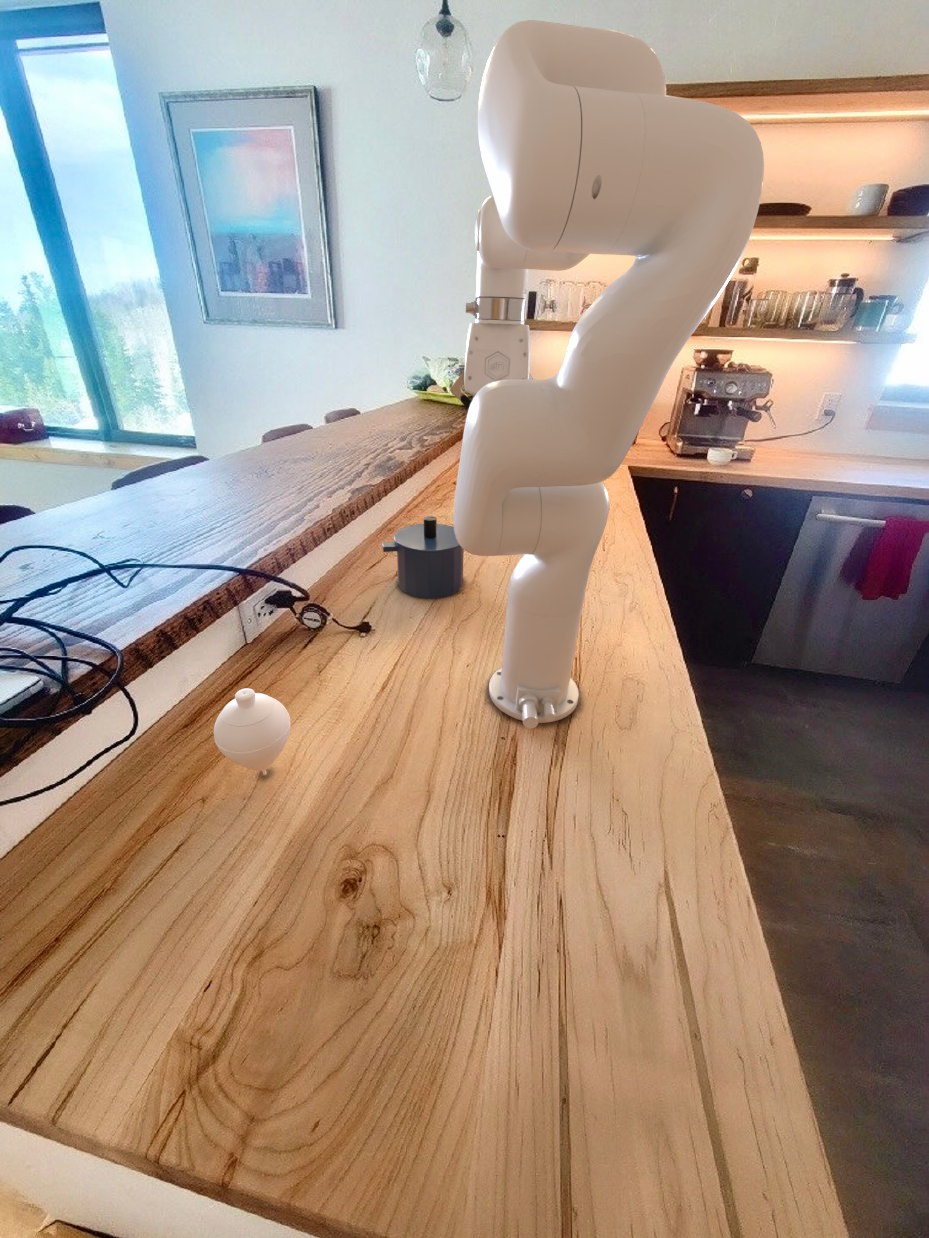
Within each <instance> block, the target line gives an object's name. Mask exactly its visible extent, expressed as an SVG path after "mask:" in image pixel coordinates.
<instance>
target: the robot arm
mask: <svg viewBox="0 0 929 1238" xmlns="http://www.w3.org/2000/svg"><path fill="white" fill-rule="evenodd" d="M481 80H482V81H481V85H480V91H479V97H478V107H477V135H478V136H477V137H478V145H479V151H480V155H481V161H482V164H483V168H484V171H485V174H486V179H487V180H488V184H489V187H490V190H491V193H492V195H490V196H488V197H486V199H485V200H484V202H483V203H482V205H481V207H480V209H478V211H477V212H476V215H475V223H474V245H475V250H476V253H477V256H476V280H475V281H476V282H475V283H476V285H475V300H473V301H470V302H466V303H465V314H470V315H472V316H473V317H474V322H469V326H468V331H467V335H466V336H467V338H466V344H465V357H464V370H463V371H462V373H461V374H460V375H459V376H458V377H457V379H456V380H455V381H454V383H453V384H452V386H451V387H450V392H451V394H452V395H454V397H455V398H457V399H458V400H459V401H460V402H461V403H462V405H464V407H465V408H466V409H467V414H466V419H465V423H464V429H463V434H462V440H461V449H460V455H459V456H460V457H459V462H458V463H459V464H458V469H457V477H456V484H455V491H454V499H453V506H452V507H453V508H452V524H453V525H452V527H454V532H455V536H456V539H457V541H458V543H459V545H460V546H461V547H462V548H463V549H464V552H466V553H468V554H470V555H473V556H477V557H479V556H480V557H500V556H520V555H522V556H521V558H519V560H518V562H517V564H516V565H515V567H514V568H513V570H512V573H511V575H510V578H509V582H508V588H507V599H506V600H507V601H506V612H505V624H504V635H503V646H502V647H503V648H502V657H501V658H502V660H501V667H500V668H498V669H497V670H496V671H495V672H493V674H492V676H491V677H490V679H489V683H488V694H489V698H490V700H491V702H492V703H493V704H494V705H495V707H496V708H497V709H499V711H500V712H502V713H503V714H505V715H507V716H509V717H511V718H514V719H515V720H519V721H522V724H523V725H522V726H523V727H525V728H526V729H529V730H530V729H535V728H536V727H538V725H539V724H546V723H552V722H557V721H560V720H562V719H564V718H567V717H568V716H570V715H571V714H572V713H573V712H574V711H575V709H576V708H577V705H578V702H579V697H580V693H579V688H578V686H577V683H576V682H575V680H574V679H573V678H572V677H571V676H572V671H573V665H574V659H575V653H576V649H577V643H578V642H577V641H578V636H579V631H580V626H581V618H582V615H583V614H582V613H583V608H584V603H585V598H586V597H585V596H586V592H587V587H588V581H589V576H590V573H591V569H592V565H593V563H594V558H595V555H596V553H597V549H598V547H599V544H600V542H601V539H602V537H603V534H604V532H605V529H606V527H607V523H608V518H609V512H610V497H609V493H608V490H607V488H606V486H605V484H604V481H606V480H608V479H609V478H610V477H612V476H613V475H614V474H615V473H616V472H617V470H618V469H619V468H620V467H621V465H622V463H623V462H624V460H625V458H626V457H627V455H628V453H629V452H630V449H631V448H632V445H633V444H634V441H635V439H636V437H637V435H638V434H639V431H640V429H641V428H642V425H643V424H644V421H645V419H647V416H648V414H649V412H650V410H651V407H652V406H653V404H654V402H655V400H656V399H657V398H656V397H657V396H658V394H659V391H660V389H661V388H662V385H663V383H664V382H665V379H666V377H667V375H668V373H669V371H670V370H671V368H672V365H673V364H674V362H675V361H676V359H677V357H678V356H679V354H680V353H681V351H682V350H683V348H684V347H685V345H686V344H687V343H688V341H689V340H690V338H691V337H692V336H693V334H694V333H695V331H696V330H697V329H698V327H699V326H700V325H701V323H702V321H704V319H705V318H706V316H707V315H708V313H710V310H712V308H713V306H714V305H715V303H716V302H717V301H718V299H719V297H720V296H721V294H722V293H723V291H724V289H725V288H726V286H727V285H728V283H729V281H730V280H731V278H732V276H733V274H734V273H735V271H736V269H737V267H738V265H739V264H740V261H741V259H742V257H743V255H744V253H745V250H746V247H747V245H748V243H749V241H750V238H751V236H752V232H753V229H754V227H755V224H756V220H757V215H758V213H759V208H760V204H761V200H762V199H761V198H762V193H763V186H764V175H765V174H764V173H765V160H764V159H765V158H764V151H763V146H762V142H761V140H760V137H759V135H758V133H757V131H756V129H755V128H754V127H753V125H751V123H750V122H749V121H748V120H747V119H745V118H744V117H742V116H741V114H739V113H738V112H734V111H733V110H730V109H728V108H727V107H724V106H721V105H718V104H715V103H711V102H707V101H704V100H699V99H693V98H687V97H681V96H672V95H667V83H666V77H665V71H664V68H663V66H662V63H661V61H660V59H659V57H658V56H657V54H656V52H655V51H654V50H653V48H652V47H650V46H649V45H648V44H647V43H646V42H644V41H643V40H642V39H640V38H638V37H637V36H635V35H632V34H629V33H626V32H622V31H617V30H612V29H605V28H596V27H589V26H581V25H574V24H567V23H560V22H553V21H544V20H536V19H527V20H520V21H517V22H515V23H514V24H512V25H511V26H509V27H508V28H506V29H505V31H504V32H503V33H502V34H501V35H500V37H498V39H497V41H496V43H495V44H494V46H493V48H492V50H491V52H490V55H489V57H488V59H487V62H486V66H485V69H484V72H483V75H482V79H481ZM590 254H591V255H609V256H610V255H614V256H631V257H634V262H633V263H632V265H631V267H629V268H628V269H627V270H626V271H625V272H624V273H623V274H622V275H620V276H619V277H617V278H616V279H615V280H614V281H613V282H611V284H610V285H608V286H606V288H605V289H604V290H603V291H602V292H601V293H600V294H599V295H598V296H597V298H595V299H594V301H593V302H592V303H591V304H590V306H589V307H588V308H587V309H586V310H585V311H584V312H583V314H582V315H581V316H580V318H579V319H578V320H577V323H575V326H574V327H573V329H572V331H571V334H570V336H569V340H568V343H567V347H566V350H565V354H564V358H563V361H562V364H561V365H560V369H559V370H558V372H557V373H556V374H555V375H554V376H552V377H549V378H545V379H534V378H533V377H532V374H531V373H530V369H531V367H530V366H531V365H530V364H531V329H530V324H525V320H526V319H525V318H526V307H527V296H528V295H527V294H528V293H527V292H528V282H529V281H528V280H529V270H537V271H538V270H540V271H552V272H553V271H557V272H560V271H567V270H570V269H573V268H574V267H576V266H577V265H579V264H580V263H581V262H583V261H584V260H585V259H586V258H588V256H590ZM463 386H464V387H463ZM462 387H463V388H464V390H465V392H467V393H468V394H470V395H473V396H472V398H470V396H469V395H468V394H466V393H465V392H464V390H463V389H462Z"/></svg>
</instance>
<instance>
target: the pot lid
mask: <svg viewBox="0 0 929 1238" xmlns="http://www.w3.org/2000/svg"><path fill="white" fill-rule="evenodd" d="M437 520H438V519H437V517H436V516H433V515H431V516H429V515H427V516H424V517H423V523H418V524H412V525H411V524H410V525H407V526H405V527H402V528H400V529H399V530H397V531H396V532H395V533H394V534H393V542H395V543H396V544H397V545H398V546H400V547H402V548H404V549H407V550H410V551H415V552H423V553H439V552H446V551H451V550H454V549H457V548H459V547H461V546H460V545H459V543H458V541H457V539H456V536H455V532H454V526H453V525H452V526H451V525H448V524H444V523H443V524H442V523H437V522H438V521H437Z"/></svg>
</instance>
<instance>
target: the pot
mask: <svg viewBox="0 0 929 1238" xmlns="http://www.w3.org/2000/svg"><path fill="white" fill-rule="evenodd" d="M381 547H382V551H383V553H391V552H396V560H397V562H396V563H397V581H398V587H399V589H400V590H401V591H402V592H404V593H405V594H407V595H409V596H412V597H416V598H420V599H421V598H422V599H440V598H445V597H448V596H451V595H454V594H456V593H457V592H458V591H460V590H461V588H462V586H463V582H464V552H465V550H464V549H463V548H462V547H459V548H457V549H454V550H451V551H446V552H439V553H423V552H415V551H410V550H407V549H404V548H402V547H400V546H398V545H397V544H396V543H395V541H383V542H382V543H381Z"/></svg>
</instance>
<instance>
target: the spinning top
mask: <svg viewBox="0 0 929 1238" xmlns="http://www.w3.org/2000/svg"><path fill="white" fill-rule="evenodd" d="M291 728H292V727H291V717H290V714H289V712H288V710H287V708H286V707H285V706H284V705H283V703H282V702H281V701H279V700H278V699H276V698H274V697H271V696H269V695H268V694H265V693H261V692H260V693H259V692H255V690H254V689H252V688H247V687H246V688H242V689H239V690H238V691H236V693H235V694H234V699H232V700H231V701H229V702H228V703H227V704H226V705H225V706H224V707H223V709H222V710H221V711H220V713H219V714H218V716H217V718H216V720H215V723H214V726H213V740H214V744H215V745H216V747H217V749H218V751H220V753H221V754H222V755H223V756H225V757H226V758H227V759H228V760H229V761H231V762H233V763H235V764H236V765H238V766H241V767H244V768H247V769H250V770H253V771H257V772H258V771H259V772H262V775H263V776H266V775H267V770H268V769H269V768H270V767H271V766H272V764H273V763H274V762H276V760H277V759H278V757H279V756H280V754H281V753H282V752H283V750H284V748H285V746H286V744H287V742H288V739H289V737H290V734H291Z"/></svg>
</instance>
